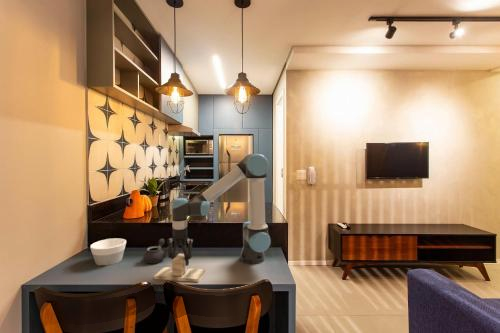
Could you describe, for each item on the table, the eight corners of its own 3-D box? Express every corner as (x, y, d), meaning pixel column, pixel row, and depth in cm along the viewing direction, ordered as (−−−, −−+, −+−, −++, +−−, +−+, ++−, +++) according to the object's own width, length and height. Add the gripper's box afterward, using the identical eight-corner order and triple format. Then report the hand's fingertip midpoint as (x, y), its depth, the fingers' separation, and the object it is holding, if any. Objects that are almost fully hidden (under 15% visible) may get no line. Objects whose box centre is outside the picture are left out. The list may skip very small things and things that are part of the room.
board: (205, 272, 140) (205, 269, 140) (198, 282, 129) (198, 279, 129) (164, 269, 143) (164, 266, 143) (154, 278, 132) (154, 276, 132)
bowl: (94, 270, 142) (93, 251, 141) (87, 260, 156) (87, 242, 156) (130, 261, 155) (130, 243, 154) (121, 252, 169) (121, 236, 169)
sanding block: (179, 268, 141) (179, 253, 140) (188, 269, 140) (188, 253, 140) (172, 276, 132) (172, 260, 131) (181, 276, 131) (181, 260, 131)
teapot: (167, 264, 150) (167, 247, 150) (140, 265, 149) (140, 248, 148) (173, 252, 169) (173, 237, 169) (149, 253, 168) (149, 238, 167)
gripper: (198, 226, 137) (199, 268, 138) (167, 225, 140) (167, 267, 141) (193, 230, 130) (194, 275, 131) (160, 229, 133) (161, 273, 133)
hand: (180, 270), depth 136 cm, fingers closed on sanding block, 5 cm apart
